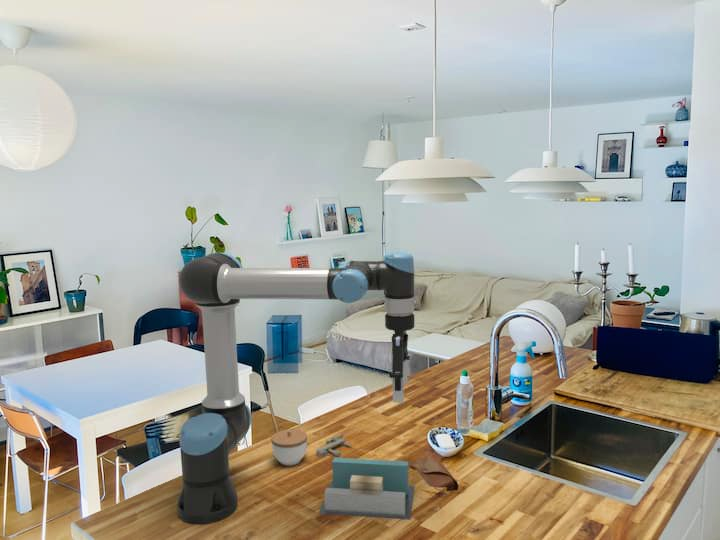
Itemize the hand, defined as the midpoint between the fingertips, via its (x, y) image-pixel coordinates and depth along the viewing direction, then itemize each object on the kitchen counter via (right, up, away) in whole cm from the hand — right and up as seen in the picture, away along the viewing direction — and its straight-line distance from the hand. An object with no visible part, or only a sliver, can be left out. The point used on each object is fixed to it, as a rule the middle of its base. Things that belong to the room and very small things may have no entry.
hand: (400, 392), depth 151 cm
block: (-9, -28, -4) cm, 29 cm away
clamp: (-18, -25, +32) cm, 44 cm away
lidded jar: (-32, -26, +24) cm, 47 cm away
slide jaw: (-8, -27, +3) cm, 28 cm away
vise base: (-8, -29, -1) cm, 30 cm away
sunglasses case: (+10, -27, +12) cm, 31 cm away
